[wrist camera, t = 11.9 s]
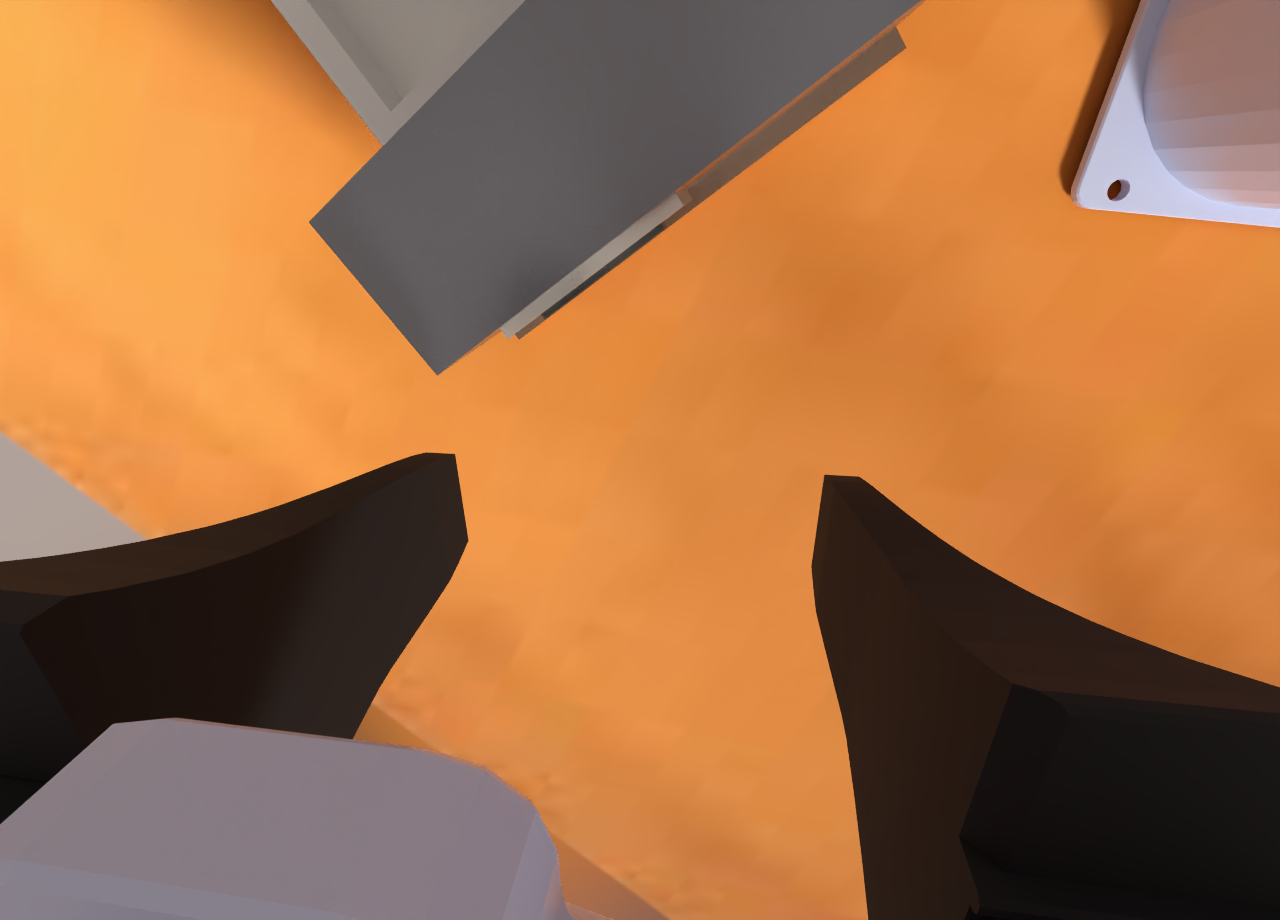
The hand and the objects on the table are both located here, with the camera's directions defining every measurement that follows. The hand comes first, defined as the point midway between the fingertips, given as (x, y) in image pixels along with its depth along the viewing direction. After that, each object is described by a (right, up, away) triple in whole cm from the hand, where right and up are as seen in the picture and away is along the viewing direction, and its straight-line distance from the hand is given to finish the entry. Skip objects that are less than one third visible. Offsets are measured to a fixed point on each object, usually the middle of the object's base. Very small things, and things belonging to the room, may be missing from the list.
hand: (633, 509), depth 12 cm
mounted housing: (0, +10, +6) cm, 12 cm away
